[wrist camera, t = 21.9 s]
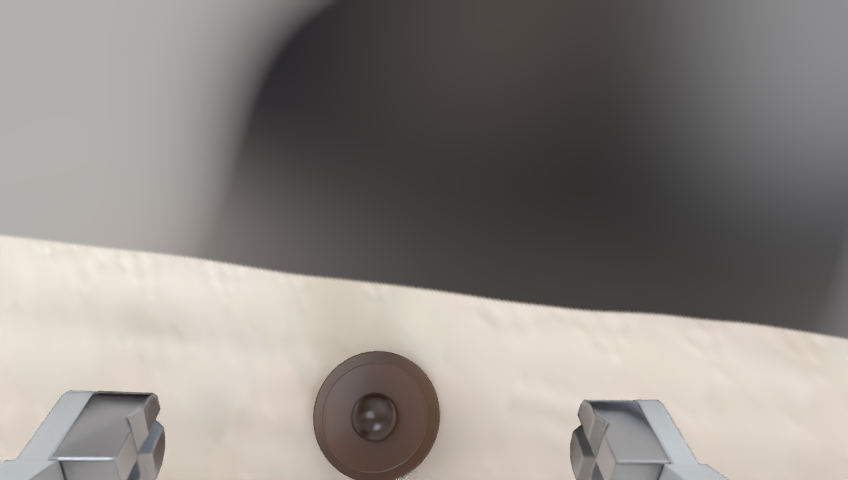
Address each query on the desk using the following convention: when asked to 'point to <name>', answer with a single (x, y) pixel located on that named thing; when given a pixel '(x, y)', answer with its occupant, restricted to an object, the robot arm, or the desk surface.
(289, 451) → the desk surface
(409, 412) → the lid
